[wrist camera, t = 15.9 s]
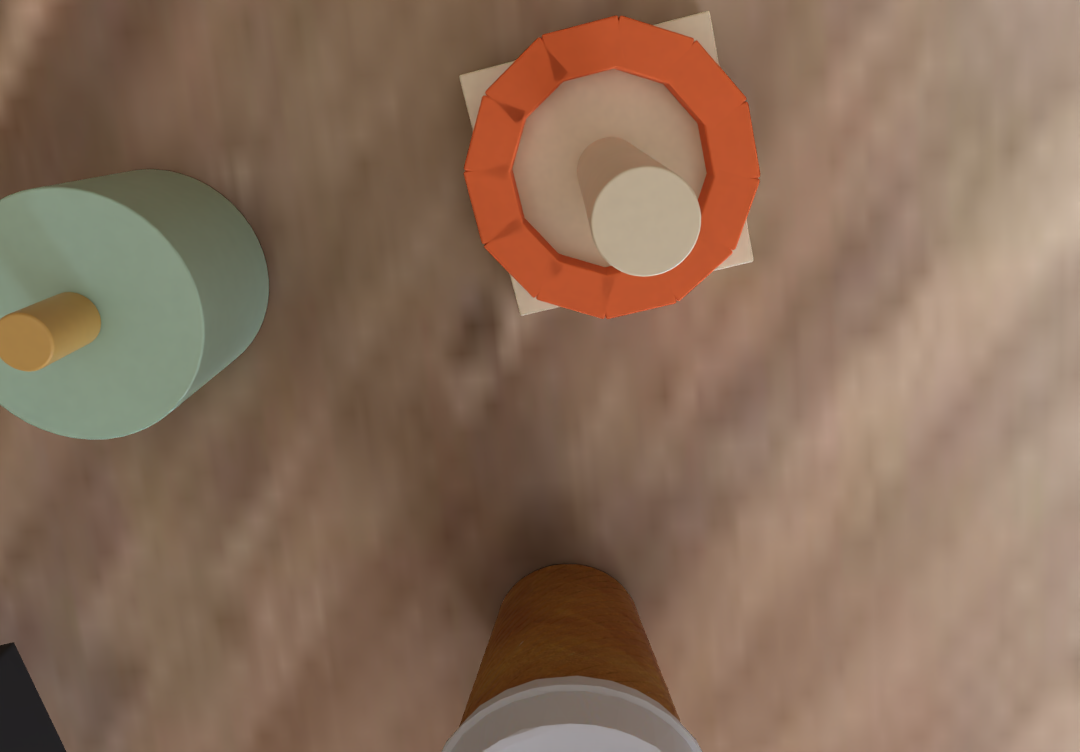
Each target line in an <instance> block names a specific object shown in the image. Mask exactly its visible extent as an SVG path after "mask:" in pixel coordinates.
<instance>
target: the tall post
mask: <svg viewBox="0 0 1080 752" xmlns="http://www.w3.org/2000/svg"><path fill="white" fill-rule="evenodd" d="M653 26H657V27H660V28H663V29H666V30H669V31H672V32H676V33H679V34H682V35H685V36H688V37H692V38H694V41H696V40H697V41H698V42H699V43H700V44H701V45H702V47H703V48H704V49H705V50H706V51H707V52H708V54H709V55H710V56H711V57H712V58H713V59H714V61H715V62H716V63H717V64H718V65H719V62H718V56H717V50H716V45H715V39H714V34H713V28H712V22H711V17H710V12H709V11H705V12H701V13H697V14H693V15H689V16H685V17H681V18H678V19H674V20H670V21H666V22H662V23H658V24H654V25H653ZM513 63H514V61H512V62H508V63H504V64H500V65H496V66H493V67H489V68H485V69H481V70H477V71H473V72H469V73H466V74H462V75H460V76H459V79H460V83H461V87H462V90H463V94H464V98H465V102H466V106H467V110H468V114H469V118H470V122H471V126H472V129H473V130H474V127H475V123H476V119H477V115H478V111H479V107H480V104H481V100H482V97H483V96H484V95H486V94H485V92H486V90H487V89H488V88H489V87H490V86H491V85H492V84H493V83H494V82H495V81H496V80H497V79H498V78H499V77H500V76H501V75H502V74H503V73H504V72H505V71H506V70H507V69H508V68H509V67H510V66H511V65H512V64H513ZM513 173H514V177H515V181H516V185H517V189H518V193H519V197H520V201H521V205H522V210H523V214H524V218H525V219H526V220H527V221H528V222H529V223H530V224H531V225H532V226H533V227H534V228H535V229H536V230H537V231H538V232H539V233H540V235H541V236H542V237H543V238H544V239H545V240H546V241H547V242H548V243H549V244H550V245H551V246H552V247H553V248H554V249H555V250H556V251H557V252H558V253H559V254H562V255H565V256H568V257H572V258H575V259H579V260H582V261H585V262H589V263H592V264H596V265H599V266H602V267H609V266H613V267H614V268H616V269H617V270H619V271H621V272H623V273H626V274H629V275H634V276H642V277H645V276H655V275H659V274H662V273H665V272H667V271H669V270H671V269H673V268H675V267H676V266H677V265H679V264H680V263H681V262H682V261H683V260H684V259H685V258H686V257H687V256H688V255H689V254H690V252H691V251H692V249H693V248H694V246H695V244H696V241H697V239H698V236H699V233H700V227H701V211H700V206H699V202H698V198H699V195H700V192H701V189H702V186H703V183H704V180H705V177H706V174H707V172H706V167H705V161H704V156H703V151H702V145H701V140H700V135H699V129H698V124H697V122H696V121H695V120H694V119H693V118H692V116H691V115H690V114H689V113H688V112H687V111H686V110H685V108H684V107H683V106H682V105H681V104H680V103H679V102H678V100H677V99H676V98H675V97H674V96H673V95H672V94H671V92H670V91H669V90H668V89H667V88H666V87H665V86H664V84H661V83H658V82H655V81H652V80H649V79H645V78H642V77H639V76H636V75H632V74H629V73H626V72H623V71H619V70H616V69H611V70H607V71H603V72H599V73H595V74H592V75H588V76H584V77H580V78H576V79H572V80H568V81H564V82H563V83H562V84H561V85H560V86H559V87H558V88H557V89H556V90H555V91H554V92H553V93H552V94H551V95H550V96H549V97H548V98H547V99H546V100H545V101H544V102H543V103H542V104H541V105H540V106H539V107H538V108H537V109H536V110H535V111H534V112H533V113H532V114H531V115H530V116H529V117H528V118H527V119H526V122H525V125H524V129H523V132H522V136H521V140H520V143H519V147H518V150H517V154H516V158H515V161H514V165H513ZM732 252H733V253H732V255H730V256H729V257H728V258H727V259H726V260H725V261H724V262H723V263H722V264H720V265H719V266H718V267H717V268H716V269H715V270H719V269H724V268H728V267H732V266H736V265H741V264H745V263H749V262H753V260H754V259H753V254H752V248H751V243H750V237H749V231H748V226H747V220H746V221H745V224H744V227H743V230H742V233H741V235H740V238H739V241H738V244H737V246H736V249H735V250H732ZM715 270H714V271H715ZM509 274H510V273H509ZM510 278H511V282H512V285H513V289H514V293H515V297H516V301H517V305H518V309H519V313H520V315H521V316H523V315H527V314H531V313H536V312H540V311H544V310H549V309H553V308H557V307H560V306H557V305H553V304H550V303H546V302H543V301H540V300H537V299H536V297H535V298H533V297H532V296H531V295H530V294H529V293H528V292H527V291H526V290H525V289H524V288H523V287H522V286H521V285H520V284H519V283H518V282H517V281H516V280H515V279H514V278H513V276H512V275H511V274H510Z"/></svg>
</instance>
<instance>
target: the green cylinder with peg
mask: <svg viewBox="0 0 1080 752" xmlns="http://www.w3.org/2000/svg"><path fill="white" fill-rule="evenodd" d="M268 297H269V278H268V270H267V265H266V261H265V257H264V253H263V251H262V248H261V246H260V243H259V241H258V239H257V237H256V235H255V233H254V231H253V230H252V228H251V226H250V225H249V223H248V222H247V221H246V219H245V218H244V217H243V215H242V214H241V213H240V212H239V211H238V210H237V209H236V207H235V206H234V205H233V204H232V203H231V202H229V201H228V200H227V199H226V198H225V197H224V196H222V195H221V194H220V193H219V192H217V191H216V190H214V189H213V188H211V187H210V186H208V185H206V184H204V183H202V182H200V181H198V180H196V179H194V178H191V177H189V176H186V175H183V174H180V173H175V172H171V171H167V170H156V169H145V170H134V171H128V172H123V173H117V174H111V175H106V176H100V177H95V178H89V179H83V180H78V181H72V182H66V183H61V184H55V185H50V186H44V187H38V188H33V189H28V190H23V191H20V192H17V193H14V194H11V195H8V196H6V197H4V198H2V199H1V200H0V405H2V406H3V407H4V408H5V409H7V410H8V411H9V412H11V413H12V414H14V415H15V416H17V417H19V418H20V419H22V420H24V421H25V422H27V423H29V424H32V425H34V426H36V427H38V428H40V429H43V430H46V431H49V432H52V433H55V434H58V435H62V436H67V437H72V438H79V439H90V440H93V439H111V438H117V437H123V436H126V435H130V434H133V433H136V432H139V431H141V430H143V429H145V428H148V427H150V426H152V425H153V424H155V423H156V422H158V421H160V420H161V419H163V418H164V417H165V416H167V415H168V414H169V413H170V412H172V411H173V410H174V409H175V408H176V407H178V406H179V405H180V404H181V403H183V402H184V401H185V400H186V399H187V398H189V397H190V396H191V395H192V394H194V393H195V392H196V391H197V390H198V389H200V388H201V387H202V386H203V385H204V384H206V383H207V382H208V381H209V380H211V379H212V378H213V377H214V376H215V375H217V374H218V373H219V372H220V371H222V370H223V369H224V368H225V367H226V366H228V365H229V364H230V363H231V362H233V361H234V360H235V359H236V358H237V357H238V356H239V355H241V354H242V353H243V352H244V351H245V350H246V348H247V347H248V346H249V345H250V344H251V343H252V341H253V339H254V338H255V336H256V335H257V333H258V331H259V329H260V327H261V324H262V322H263V320H264V316H265V313H266V309H267V304H268Z"/></svg>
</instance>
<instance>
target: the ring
mask: <svg viewBox="0 0 1080 752" xmlns="http://www.w3.org/2000/svg"><path fill="white" fill-rule="evenodd" d="M611 69H616V70H619V71H623V72H626V73H629V74H632V75H636V76H639V77H642V78H645V79H649V80H652V81H655V82H658V83H661V84H664V86H665V87H666V88H667V89H668V90H669V91H670V92H671V94H672V95H673V96H674V97H675V98H676V99H677V100H678V102H679V103H680V104H681V105H682V106H683V107H684V108H685V110H686V111H687V112H688V113H689V114H690V115H691V116H692V118H693V119H694V120H695V121H696V122H697V124H698V129H699V135H700V140H701V145H702V151H703V156H704V161H705V167H706V172H707V174H706V177H705V180H704V183H703V186H702V189H701V192H700V195H699V198H698V202H699V206H700V211H701V227H700V233H699V236H698V239H697V241H696V244H695V246H694V248H693V249H692V251H691V252H690V254H689V255H688V256H687V257H686V258H685V259H684V260H683V261H682V262H681V263H680V264H679V265H677V266H676V267H675V268H673V269H671V270H669V271H667V272H665V273H662V274H659V275H655V276H645V277H642V276H634V275H629V274H626V273H623V272H621V271H619V270H617V269H616V268H614V267H613V266H609V267H602V266H599V265H596V264H592V263H589V262H585V261H582V260H579V259H575V258H572V257H568V256H565V255H562V254H559V253H558V252H557V251H556V250H555V249H554V248H553V247H552V246H551V245H550V244H549V243H548V242H547V241H546V240H545V239H544V238H543V237H542V236H541V235H540V233H539V232H538V231H537V230H536V229H535V228H534V227H533V226H532V225H531V224H530V223H529V222H528V221H527V220H526V219H525V218H524V214H523V210H522V205H521V201H520V197H519V193H518V189H517V185H516V181H515V177H514V173H513V165H514V161H515V158H516V154H517V150H518V147H519V143H520V140H521V136H522V132H523V129H524V125H525V122H526V119H527V118H528V117H529V116H530V115H531V114H532V113H533V112H534V111H535V110H536V109H537V108H538V107H539V106H540V105H541V104H542V103H543V102H544V101H545V100H546V99H547V98H548V97H549V96H550V95H551V94H552V93H553V92H554V91H555V90H556V89H557V88H558V87H559V86H560V85H561V84H562V83H563V82H564V81H568V80H572V79H576V78H580V77H584V76H588V75H592V74H595V73H599V72H603V71H607V70H611ZM485 94H486V95H484V96H483V97H482V100H481V104H480V107H479V111H478V115H477V119H476V123H475V127H474V130H473V134H472V138H471V142H470V146H469V149H468V153H467V157H466V161H465V165H464V170H466V171H465V172H464V177H465V181H466V185H467V188H468V192H469V196H470V200H471V204H472V207H473V211H474V215H475V219H476V223H477V226H478V230H479V234H480V238H481V242H482V244H485V245H484V248H485V249H486V250H487V251H488V252H489V253H490V254H491V255H492V256H493V257H494V258H495V259H496V260H497V261H498V262H499V263H500V264H501V265H502V266H503V267H504V268H505V269H506V270H507V271H508V272H509V273H510V274H511V275H512V276H513V278H514V279H515V280H516V281H517V282H518V283H519V284H520V285H521V286H522V287H523V288H524V289H525V290H526V291H527V292H528V293H529V294H530V295H531V296H532V297H533V298H535V297H536V299H537V300H540V301H543V302H546V303H550V304H553V305H557V306H560V307H564V308H567V309H571V310H574V311H577V312H581V313H584V314H588V315H591V316H595V317H598V318H602V319H604V318H605V316H606V318H607V319H610V318H614V317H619V316H623V315H627V314H632V313H636V312H640V311H644V310H649V309H653V308H657V307H662V306H666V305H670V304H675V303H676V300H678V301H680V300H681V299H682V298H683V297H685V296H686V295H687V294H688V293H689V292H690V291H691V290H692V289H694V288H695V287H696V286H697V285H698V284H699V283H700V282H701V281H702V280H704V279H705V278H706V277H707V276H708V275H709V274H710V273H711V272H713V271H714V270H715V269H716V268H717V267H718V266H719V265H720V264H722V263H723V262H724V261H725V260H726V259H727V258H728V257H729V256H730V255H732V253H733V252H732V250H735V249H736V246H737V244H738V241H739V238H740V235H741V233H742V230H743V227H744V224H745V221H746V219H747V216H748V213H749V210H750V207H751V205H752V202H753V199H754V196H755V193H756V191H757V188H758V185H759V182H760V180H759V179H758V177H759V176H760V170H759V164H758V158H757V152H756V146H755V140H754V134H753V129H752V123H751V117H750V111H749V105H748V103H747V102H744V101H745V100H746V97H745V96H744V95H743V93H742V92H741V91H740V90H739V89H738V88H737V86H736V85H735V84H734V83H733V82H732V81H731V79H730V78H729V77H728V76H727V75H726V74H725V72H724V71H723V70H722V69H721V68H720V67H719V65H718V64H717V63H716V62H715V61H714V59H713V58H712V57H711V56H710V55H709V54H708V52H707V51H706V50H705V49H704V48H703V47H702V45H701V44H700V43H699V42H698V41H697V40H696V41H694V38H692V37H688V36H685V35H682V34H679V33H676V32H672V31H669V30H666V29H663V28H660V27H657V26H653V25H650V24H647V23H644V22H641V21H637V20H634V19H631V18H628V17H625V16H620V17H619V18H618V16H612V17H608V18H604V19H600V20H597V21H593V22H589V23H585V24H581V25H578V26H574V27H570V28H566V29H562V30H558V31H555V32H551V33H547V34H543V35H542V39H541V38H540V37H539V38H537V39H536V40H535V41H534V42H533V43H532V44H531V45H530V46H529V47H528V48H527V49H526V50H525V51H524V52H523V53H522V54H521V55H520V56H519V57H518V58H517V59H516V60H515V61H514V63H513V64H512V65H511V66H510V67H509V68H508V69H507V70H506V71H505V72H504V73H503V74H502V75H501V76H500V77H499V78H498V79H497V80H496V81H495V82H494V83H493V84H492V85H491V86H490V87H489V88H488V89H487V90H486V92H485Z"/></svg>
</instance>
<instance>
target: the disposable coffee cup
mask: <svg viewBox="0 0 1080 752" xmlns="http://www.w3.org/2000/svg"><path fill="white" fill-rule="evenodd" d="M442 752H702V750H701V748H700V746H699V744H698V742H697V741H696V739H695V738H694V737H693V736H692V735H691V734H690V733H689V731H688V730H687V729H686V728H685V727H684V726H683V725H682V724H681V722H680V719H679V716H678V714H677V712H676V710H675V706H674V704H673V702H672V699H671V696H670V694H669V691H668V688H667V686H666V684H665V681H664V679H663V676H662V674H661V671H660V669H659V666H658V664H657V660H656V658H655V656H654V653H653V651H652V648H651V646H650V643H649V641H648V638H647V635H646V633H645V631H644V628H643V626H642V623H641V620H640V618H639V615H638V612H637V609H636V607H635V604H634V602H633V600H632V598H631V597H630V595H629V594H628V593H627V591H626V590H625V588H624V587H623V586H622V585H621V584H620V583H619V582H618V581H617V580H615V579H614V578H612V577H611V576H609V575H608V574H606V573H604V572H602V571H599V570H597V569H595V568H592V567H588V566H583V565H578V564H559V565H552V566H548V567H545V568H542V569H540V570H537V571H534V572H532V573H531V574H529V575H527V576H526V577H524V578H522V579H521V580H520V581H519V582H518V583H516V584H515V585H514V586H513V587H512V589H511V590H510V591H509V592H508V594H507V595H506V597H505V599H504V601H503V603H502V605H501V607H500V610H499V614H498V617H497V620H496V622H495V626H494V628H493V631H492V634H491V637H490V640H489V643H488V646H487V648H486V651H485V654H484V656H483V659H482V663H481V665H480V669H479V671H478V674H477V678H476V680H475V683H474V685H473V689H472V692H471V694H470V697H469V700H468V703H467V706H466V709H465V712H464V714H463V718H462V721H461V723H460V726H459V728H458V729H457V730H456V731H455V732H454V734H453V735H452V736H451V737H450V738H449V739H448V740H447V741H446V743H445V746H444V748H443V750H442Z"/></svg>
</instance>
